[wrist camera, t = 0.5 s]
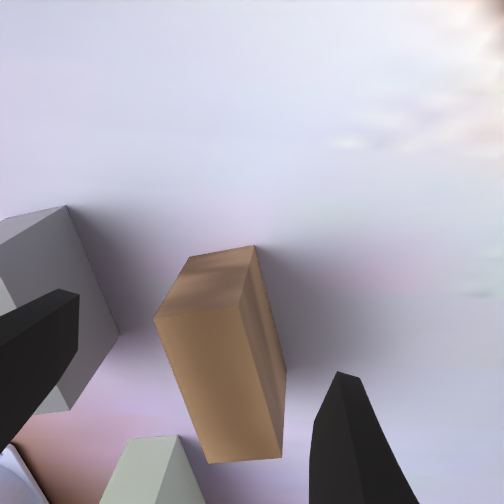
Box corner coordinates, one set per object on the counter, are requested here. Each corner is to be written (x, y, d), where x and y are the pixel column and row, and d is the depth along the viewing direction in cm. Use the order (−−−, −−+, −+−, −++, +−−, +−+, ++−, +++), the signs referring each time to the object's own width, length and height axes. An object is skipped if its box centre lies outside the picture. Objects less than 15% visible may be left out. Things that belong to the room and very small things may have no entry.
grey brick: (67, 341, 25) (3, 418, 20) (8, 217, 22) (-87, 267, 17) (121, 333, 25) (69, 410, 19) (66, 204, 22) (-13, 252, 16)
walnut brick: (228, 376, 25) (208, 463, 20) (189, 256, 22) (152, 318, 17) (286, 369, 24) (281, 457, 19) (254, 244, 21) (237, 305, 16)
